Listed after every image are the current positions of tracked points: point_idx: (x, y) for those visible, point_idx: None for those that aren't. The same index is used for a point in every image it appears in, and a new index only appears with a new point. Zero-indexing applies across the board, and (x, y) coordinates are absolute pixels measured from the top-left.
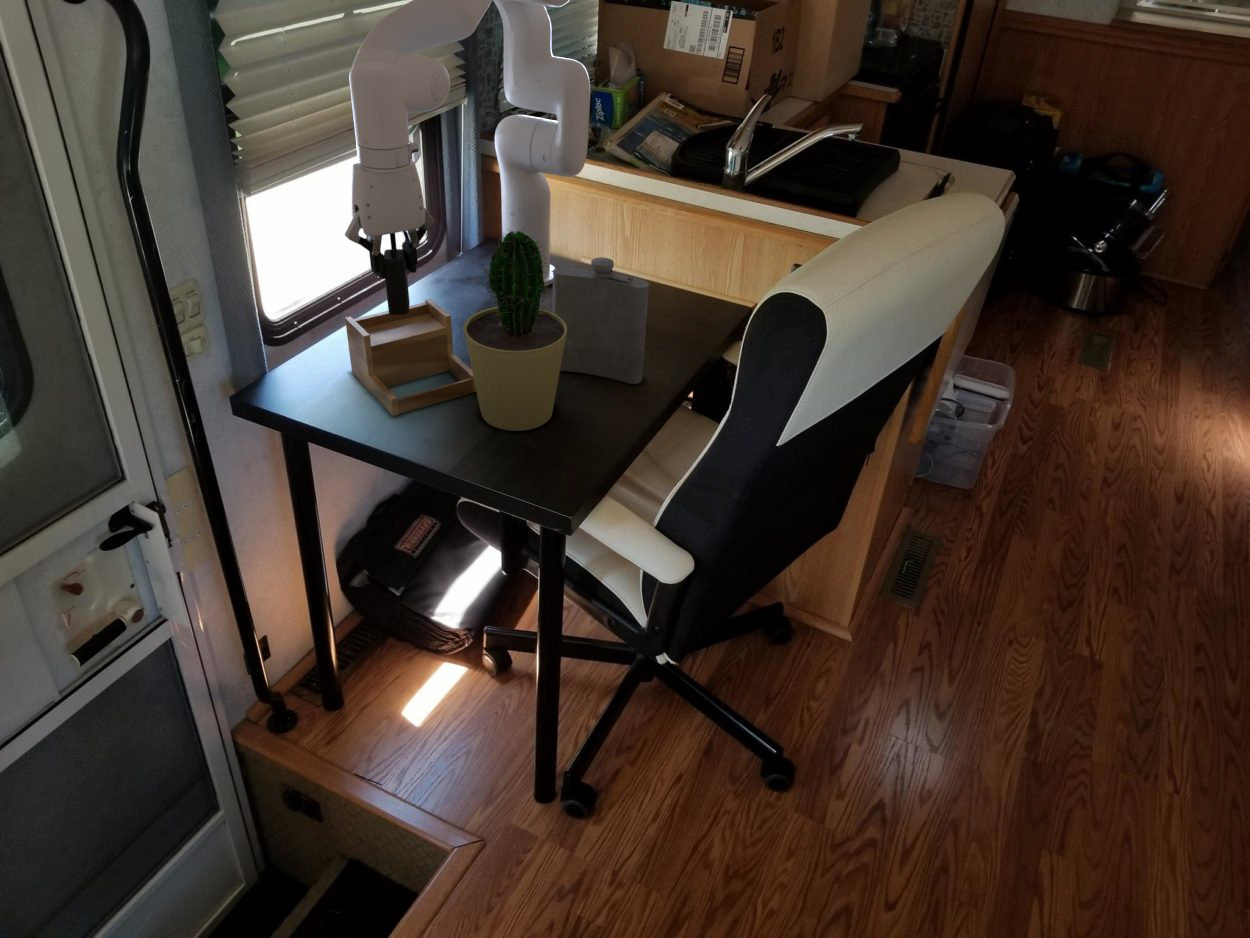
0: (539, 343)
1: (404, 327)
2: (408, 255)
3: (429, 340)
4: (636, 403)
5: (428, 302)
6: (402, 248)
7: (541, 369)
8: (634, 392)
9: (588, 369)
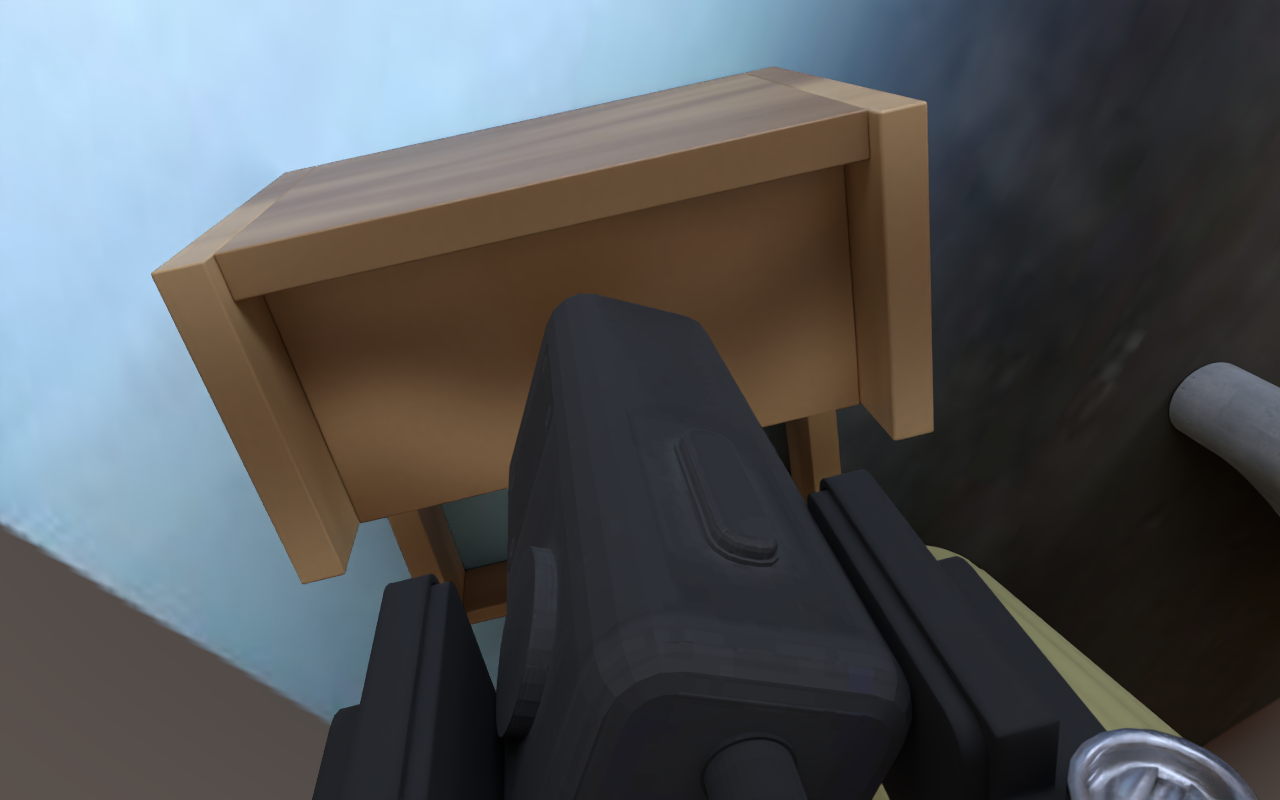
0: None
1: None
2: (907, 792)
3: None
4: (1231, 670)
5: (882, 178)
6: (921, 677)
7: None
8: (1276, 616)
9: (1262, 489)
